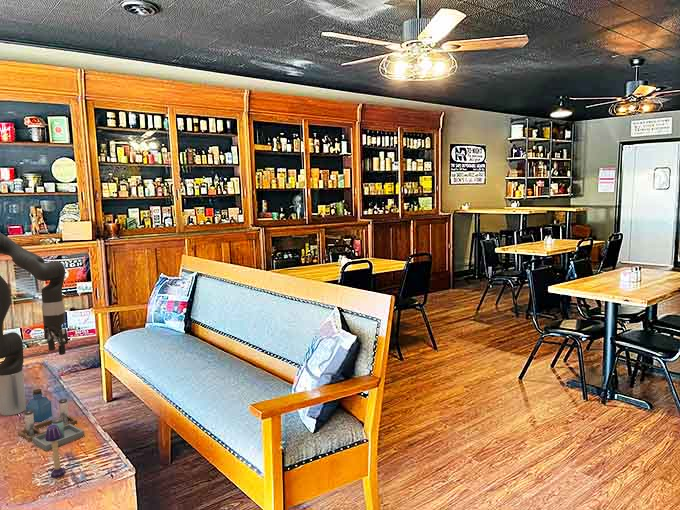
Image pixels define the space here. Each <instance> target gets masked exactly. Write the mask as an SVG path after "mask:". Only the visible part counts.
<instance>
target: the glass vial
mask: <svg viewBox="0 0 680 510" xmlns="http://www.w3.org/2000/svg"><path fill="white" fill-rule="evenodd" d="M23 414H24V415H23V416H24V422H25V423H24V424H25V429H26V435H27V436H29V437H31V436H34V435H36V433H35V422H34V416H33V410H27V411H26V410H25V411H23Z"/></svg>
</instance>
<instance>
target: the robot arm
mask: <svg viewBox="0 0 680 510" xmlns="http://www.w3.org/2000/svg"><path fill="white" fill-rule="evenodd" d="M0 255H5V256H9V257H11V259H12V261H13V263H14V264H15V265H16V266H17V267H19V268H20V269H23V270H25V271H27V272H29V273H30V274H31V275H32V276H33V277H34V278H35V279H36V280H37V281H41V282H48V281H49V282H48V285H46V286H44V287H42V288H41V304H42V305H41V311H42V312H41V313H42V321H43V322H42V323H43V334H44V335H43V336H44V340H45V341H46V342H47V344H48V345H47V346H48V351H49V352H53V351H55V350H56V344H55V342H56V343H57V346H58V347H57V348H58V355H60V356H62V355H66V345H67V344H69V339H68V329H67V328H63V326H62V325H64V324H65V323H66V315H65V313H66V312H65V305H64V304H65V303H64V300H63V299H64V297H63V286H64V283H65V278H66V277H65V276H66V269H65V266H64V264H63V263H62V262H61V261H59V260H54V261H53V260H52V261H47V262H45V260H44V258H43V257H42V256H40V255H38V254H36V253H33V252H32V251H29V250H27V249H25V248H23V247H22V246H21V245H19V244H18V243H16V242H15V241H13V239H11V238H9V236H7V235H6V234H4V233H1V232H0ZM11 302H12V299H11V291H10V286H9V284H8V283H7V281H6V279H4V278H3V277H2V276H1V275H0V360H1V359H3V360H2V361H1V362H0V415H1V416H5V417H6V416H13V415H18V414H21V413H24V412H25V411H26V406H27V401H26V392H25V381H24V371H23V365H24V363H25V362H24V361H25V360H24V342H23V340H22V337H21V335H20V334H18V333H17V332H15V331H11V332H7V333H4V329H3V328H4V321H5V318H6V316H7V314H8V312H9V309H10V306H11Z"/></svg>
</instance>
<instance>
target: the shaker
mask: <svg viewBox="0 0 680 510" xmlns="http://www.w3.org/2000/svg"><path fill="white" fill-rule="evenodd" d="M58 417H59V418H57V417H55V418H52V419H53V420H52V419H51V420H52V424H51V425H57V426H58V427H59V429H60V432H61V434H62V437H61V438H60V439H62V438H64V425H63V418H61V417H60V416H58ZM58 440H59V439H58Z"/></svg>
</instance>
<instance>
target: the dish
mask: <svg viewBox="0 0 680 510" xmlns="http://www.w3.org/2000/svg"><path fill="white" fill-rule="evenodd" d="M83 436H84V437H85V431H84V430H83V429H82V428H79V427H78V426H76V425H72V424H67V425H65V426H64V438H62V439H59V440H57V443H58V448H59V447H61V446H64V445H67V444H69V443H71V441H72V442H73V440H74V441H77V440H79V439H81V437H82V438H84V437H83ZM45 437H46V433H43V434H41V435H38V436H35V437H33V438H32V440H33V441H32V444H33V443H34V444H33V445H35V446H36V447H39V448H40V449H41V450H43V451H45V452H49V451H52V443H51V442H48V441H46V440H45ZM78 438H79V439H78ZM76 439H77V440H76ZM66 443H67V444H66Z"/></svg>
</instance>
